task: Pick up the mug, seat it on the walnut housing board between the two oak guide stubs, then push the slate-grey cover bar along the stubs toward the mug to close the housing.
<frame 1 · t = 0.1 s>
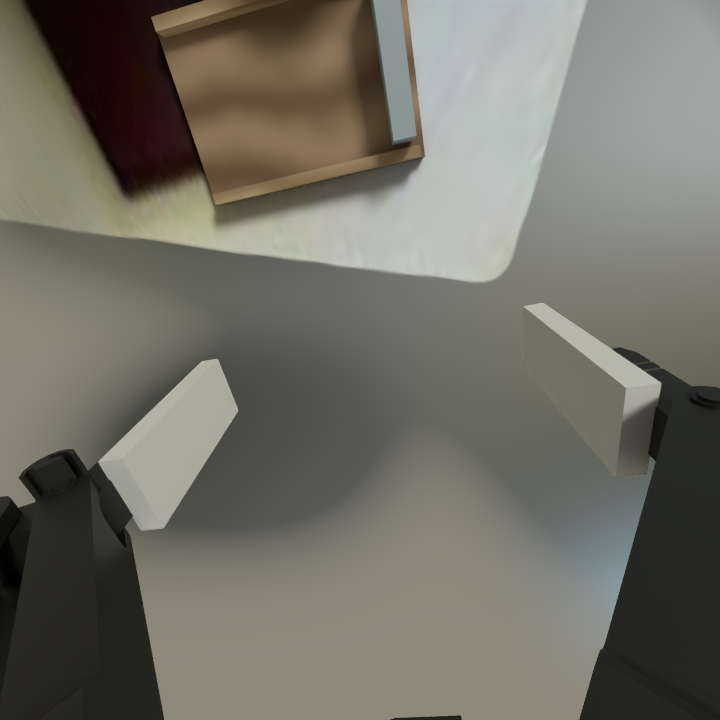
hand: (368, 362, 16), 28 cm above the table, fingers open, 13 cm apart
housing base: (299, 97, 35), on the table
cover bar: (392, 60, 31), point 3 cm above the table, slide at 0.0 cm
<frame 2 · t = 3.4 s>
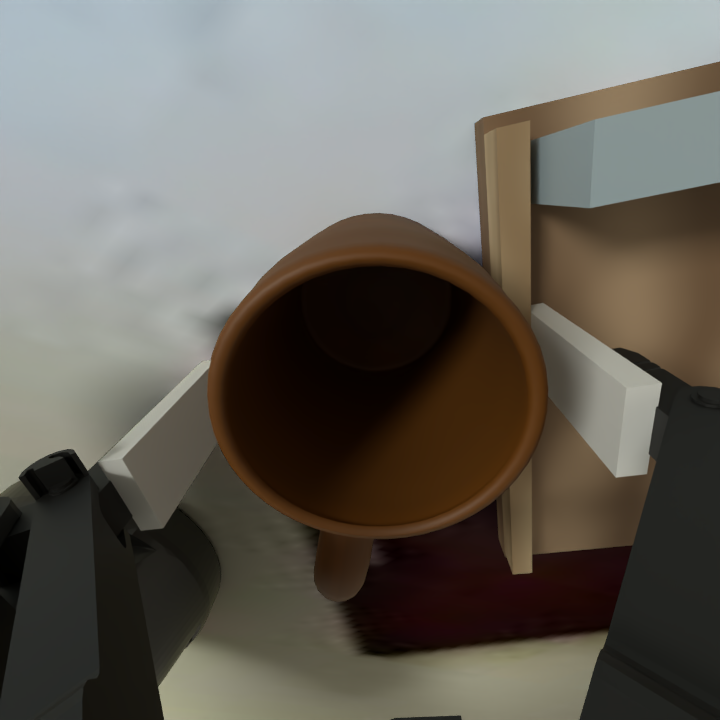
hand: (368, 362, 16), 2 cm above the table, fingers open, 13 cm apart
mug: (367, 344, 17), on the table
housing base: (654, 359, 17), on the table
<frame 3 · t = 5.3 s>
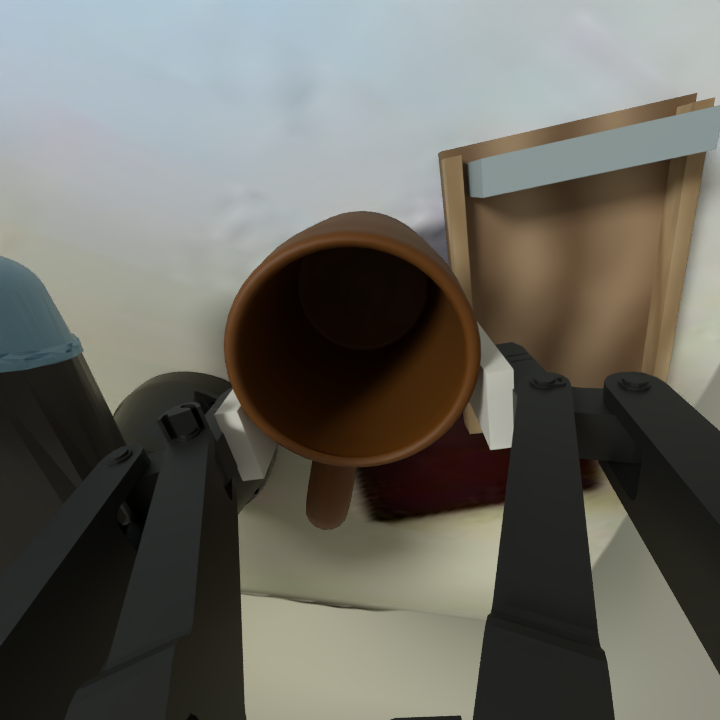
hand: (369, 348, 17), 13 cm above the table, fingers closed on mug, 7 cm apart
mug: (356, 326, 20), point 10 cm above the table, touching gripper
housing base: (551, 291, 28), on the table
cover bar: (578, 157, 21), point 3 cm above the table, slide at 0.0 cm
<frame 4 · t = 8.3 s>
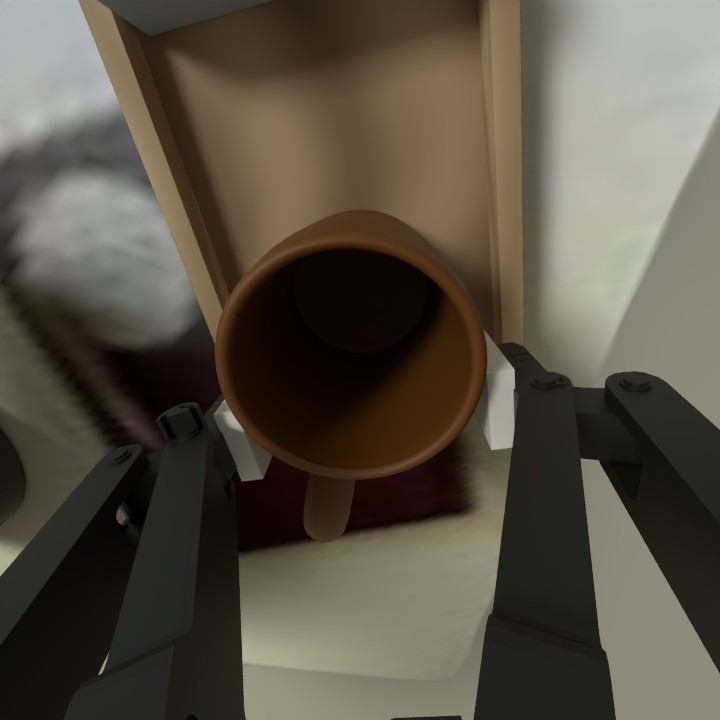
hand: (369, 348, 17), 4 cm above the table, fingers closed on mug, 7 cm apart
mug: (354, 328, 19), point 1 cm above the table, touching gripper, housing base
housing base: (345, 217, 18), on the table
when the fingers open (3 cm above the table, at t = 9.3 s): mug stays where it is, resting on housing base.
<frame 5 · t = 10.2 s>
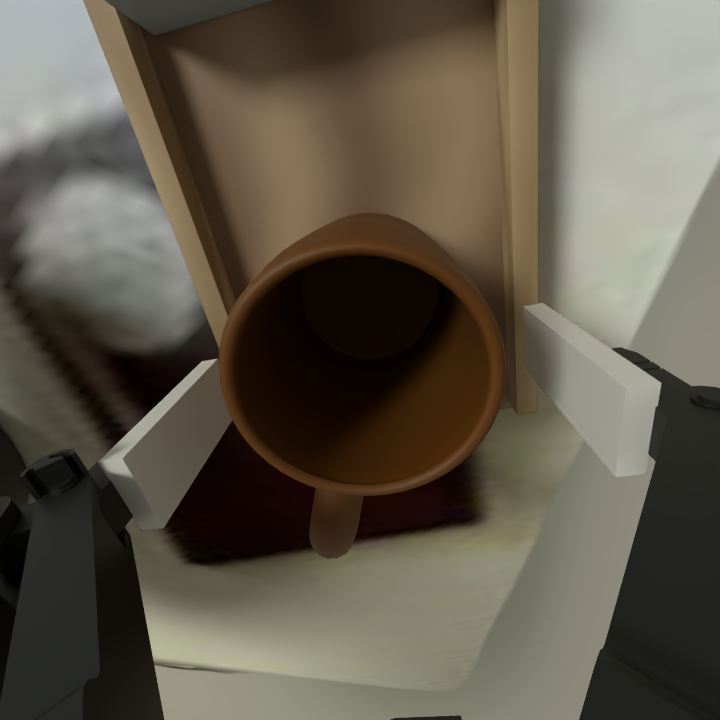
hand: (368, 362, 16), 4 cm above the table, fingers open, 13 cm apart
mug: (362, 334, 19), point 1 cm above the table, touching housing base
housing base: (354, 221, 17), on the table
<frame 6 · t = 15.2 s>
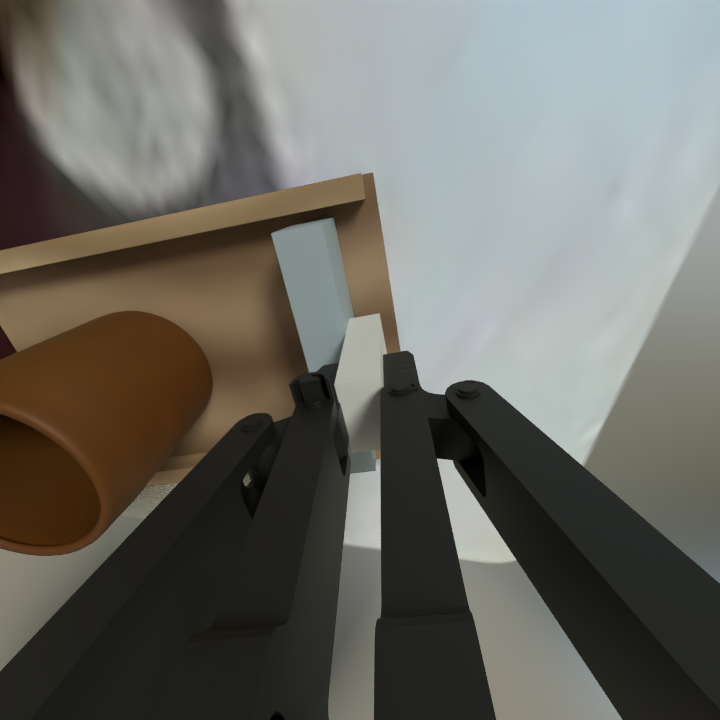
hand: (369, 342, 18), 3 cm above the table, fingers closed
mug: (117, 360, 21), point 1 cm above the table, touching housing base
housing base: (214, 349, 22), on the table
cover bar: (335, 351, 18), point 3 cm above the table, slide at 1.1 cm, touching gripper
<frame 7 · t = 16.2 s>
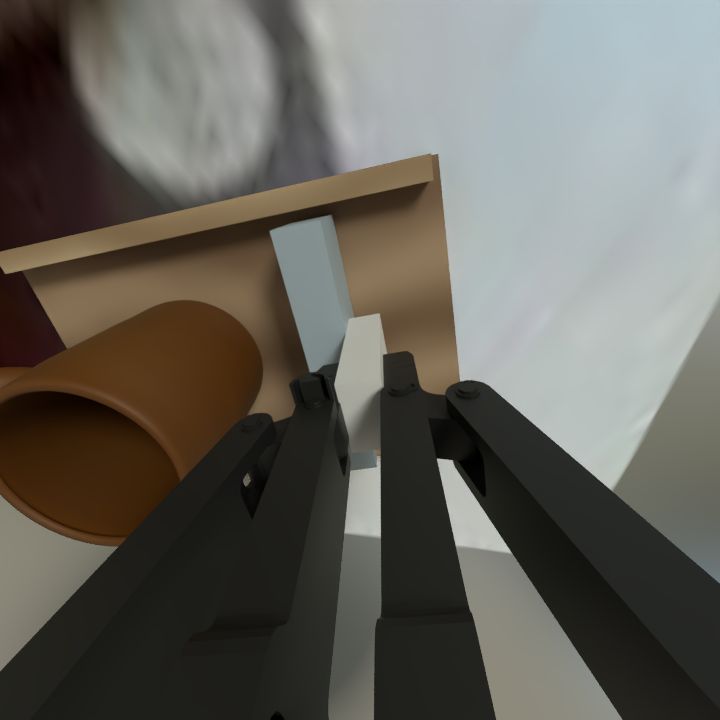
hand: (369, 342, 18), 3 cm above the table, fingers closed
mug: (166, 352, 21), point 1 cm above the table, touching housing base
housing base: (262, 339, 22), on the table
cover bar: (335, 348, 18), point 3 cm above the table, slide at 4.2 cm, touching gripper
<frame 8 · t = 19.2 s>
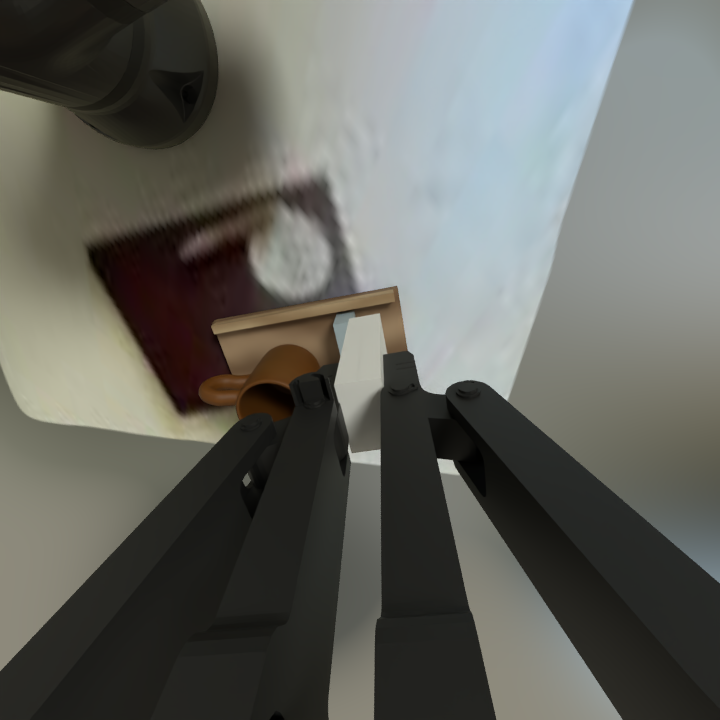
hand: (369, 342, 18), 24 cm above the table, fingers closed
mug: (274, 366, 45), point 1 cm above the table, touching housing base
housing base: (319, 360, 45), on the table
cover bar: (355, 366, 42), point 3 cm above the table, slide at 4.2 cm
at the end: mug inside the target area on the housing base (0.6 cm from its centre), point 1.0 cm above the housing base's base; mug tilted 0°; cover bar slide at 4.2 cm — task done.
